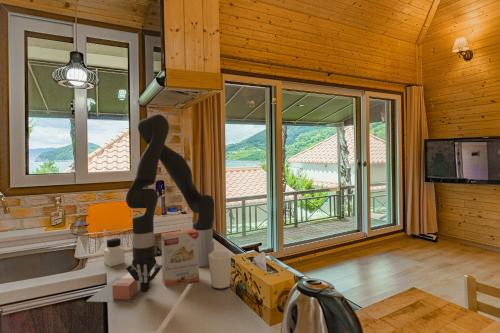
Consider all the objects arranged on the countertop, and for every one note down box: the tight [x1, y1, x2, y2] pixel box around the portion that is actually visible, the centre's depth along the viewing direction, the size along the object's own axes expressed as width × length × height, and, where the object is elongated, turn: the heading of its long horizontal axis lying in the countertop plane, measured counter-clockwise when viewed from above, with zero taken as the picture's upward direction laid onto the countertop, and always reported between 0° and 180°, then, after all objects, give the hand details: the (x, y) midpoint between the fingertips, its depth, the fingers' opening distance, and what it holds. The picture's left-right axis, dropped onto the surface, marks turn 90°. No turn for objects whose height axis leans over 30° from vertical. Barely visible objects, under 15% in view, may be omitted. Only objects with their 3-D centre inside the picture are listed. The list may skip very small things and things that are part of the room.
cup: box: [208, 250, 234, 291], centre depth 115 cm, size 10×10×13 cm
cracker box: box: [160, 228, 200, 287], centre depth 118 cm, size 14×6×21 cm, turn 118°
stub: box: [112, 278, 137, 300], centre depth 106 cm, size 6×6×5 cm
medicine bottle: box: [103, 237, 126, 268], centre depth 142 cm, size 7×7×12 cm
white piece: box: [86, 271, 157, 304], centre depth 112 cm, size 17×20×6 cm
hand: (145, 291), depth 105 cm, fingers closed
